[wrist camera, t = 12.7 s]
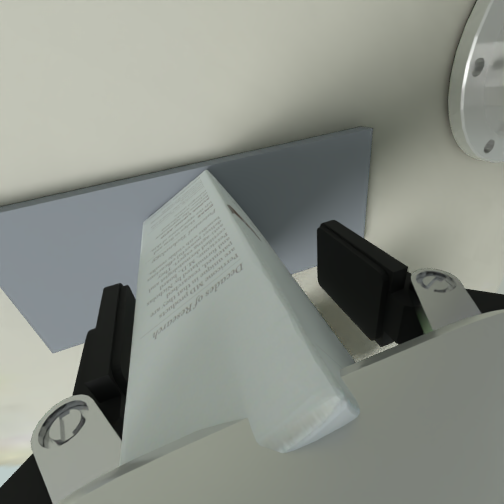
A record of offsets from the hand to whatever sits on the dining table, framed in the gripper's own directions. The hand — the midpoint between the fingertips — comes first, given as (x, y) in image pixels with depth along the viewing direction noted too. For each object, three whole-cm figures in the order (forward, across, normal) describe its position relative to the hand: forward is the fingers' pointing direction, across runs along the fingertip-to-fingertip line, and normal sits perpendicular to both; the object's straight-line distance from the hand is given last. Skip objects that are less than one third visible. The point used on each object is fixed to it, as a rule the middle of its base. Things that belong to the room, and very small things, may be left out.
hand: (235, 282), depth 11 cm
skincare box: (+5, 0, 0) cm, 5 cm away
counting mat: (+6, 0, 0) cm, 6 cm away
